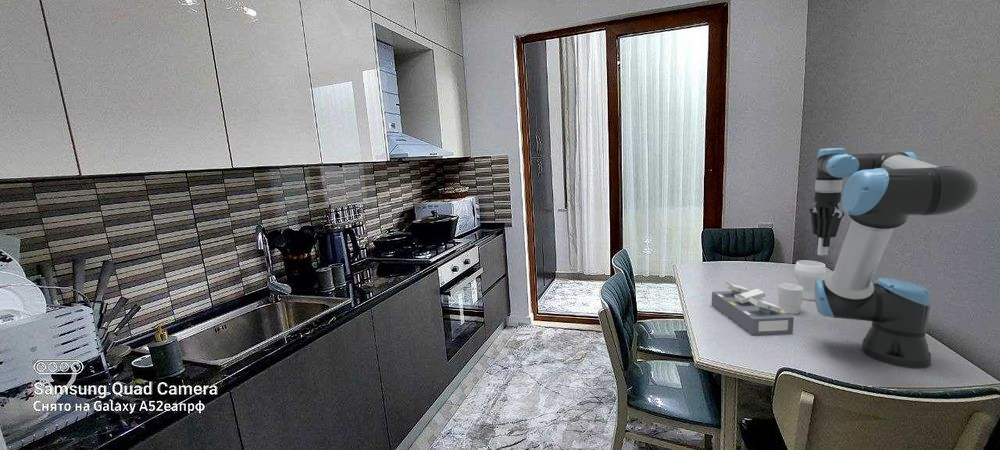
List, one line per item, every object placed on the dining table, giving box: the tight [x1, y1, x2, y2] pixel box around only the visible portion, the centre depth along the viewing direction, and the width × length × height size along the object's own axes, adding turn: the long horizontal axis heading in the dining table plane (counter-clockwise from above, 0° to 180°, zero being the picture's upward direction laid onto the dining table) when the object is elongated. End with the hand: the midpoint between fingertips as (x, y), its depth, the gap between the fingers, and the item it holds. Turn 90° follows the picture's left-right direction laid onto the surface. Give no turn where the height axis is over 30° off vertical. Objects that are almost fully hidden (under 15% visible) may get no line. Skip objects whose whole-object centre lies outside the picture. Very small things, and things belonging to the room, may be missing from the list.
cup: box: [793, 259, 827, 301], centre depth 169 cm, size 11×11×15 cm
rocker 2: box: [734, 288, 766, 303], centre depth 152 cm, size 5×9×2 cm, turn 89°
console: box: [711, 290, 795, 336], centre depth 152 cm, size 28×14×8 cm, turn 179°
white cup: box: [778, 283, 803, 315], centre depth 157 cm, size 8×8×10 cm
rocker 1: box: [721, 281, 751, 293], centre depth 160 cm, size 5×9×2 cm, turn 89°
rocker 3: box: [749, 297, 782, 313], centre depth 143 cm, size 5×9×2 cm, turn 89°
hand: (822, 254), depth 147 cm, fingers closed
